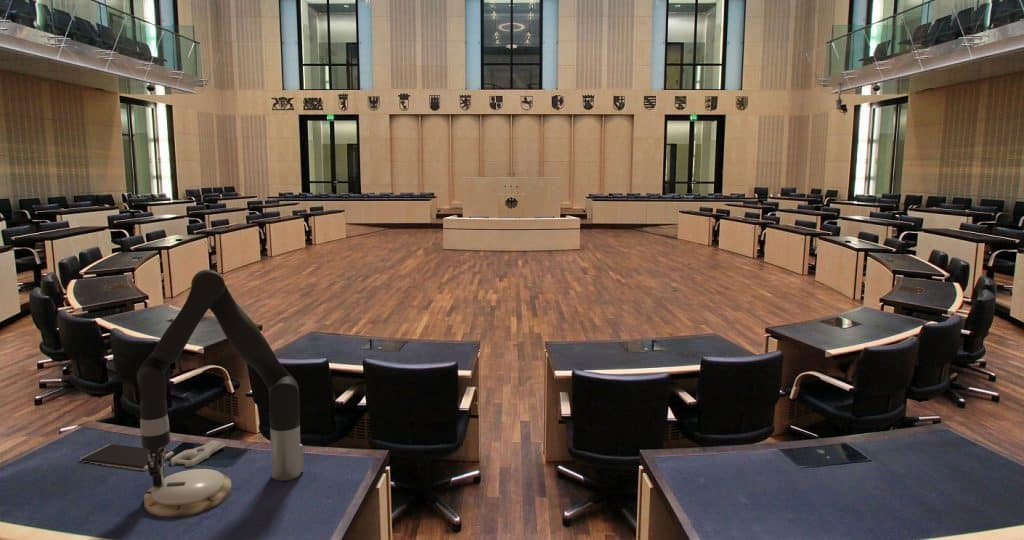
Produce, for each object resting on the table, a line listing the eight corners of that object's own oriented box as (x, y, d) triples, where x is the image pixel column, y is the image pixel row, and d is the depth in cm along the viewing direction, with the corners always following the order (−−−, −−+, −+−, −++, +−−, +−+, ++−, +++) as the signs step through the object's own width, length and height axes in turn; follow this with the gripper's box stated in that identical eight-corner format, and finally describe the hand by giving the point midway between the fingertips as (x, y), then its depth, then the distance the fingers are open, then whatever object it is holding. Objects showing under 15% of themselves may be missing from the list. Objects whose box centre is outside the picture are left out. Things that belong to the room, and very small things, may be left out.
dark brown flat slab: (110, 447, 227) (110, 443, 227) (175, 455, 222) (174, 450, 221) (78, 463, 214) (78, 458, 214) (146, 472, 209) (145, 467, 209)
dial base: (203, 470, 210) (202, 463, 210) (247, 490, 198) (247, 483, 197) (128, 500, 190) (127, 492, 190) (172, 525, 177) (172, 517, 177)
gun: (206, 435, 230) (228, 439, 227) (206, 443, 231) (229, 448, 228) (165, 458, 213) (188, 463, 210) (166, 467, 214) (189, 473, 211)
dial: (231, 471, 205) (230, 449, 204) (214, 502, 186) (213, 478, 185) (165, 475, 201) (163, 453, 200) (140, 508, 182) (139, 483, 181)
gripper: (164, 438, 183) (167, 492, 186) (173, 419, 196) (177, 470, 199) (135, 441, 181) (139, 496, 184) (146, 422, 194) (150, 473, 197)
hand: (159, 482), depth 192 cm, fingers closed on dial, 3 cm apart
